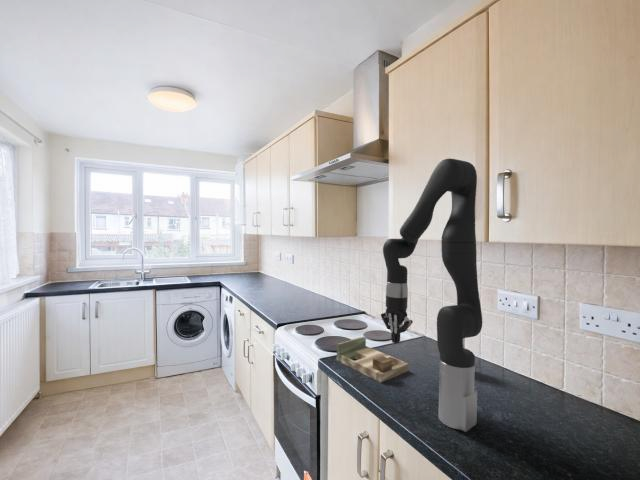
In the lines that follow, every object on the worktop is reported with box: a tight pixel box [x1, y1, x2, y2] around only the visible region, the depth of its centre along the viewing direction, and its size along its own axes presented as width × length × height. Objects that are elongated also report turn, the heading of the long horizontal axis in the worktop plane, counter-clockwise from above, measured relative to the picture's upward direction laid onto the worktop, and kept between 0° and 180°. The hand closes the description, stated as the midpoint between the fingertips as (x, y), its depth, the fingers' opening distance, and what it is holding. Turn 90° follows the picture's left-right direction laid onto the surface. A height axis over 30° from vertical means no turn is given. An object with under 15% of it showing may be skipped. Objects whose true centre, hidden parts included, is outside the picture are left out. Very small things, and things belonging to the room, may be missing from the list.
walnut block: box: [373, 356, 393, 373], centre depth 117 cm, size 5×5×4 cm
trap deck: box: [336, 336, 409, 384], centre depth 126 cm, size 24×16×7 cm, turn 37°
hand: (395, 342), depth 112 cm, fingers closed
